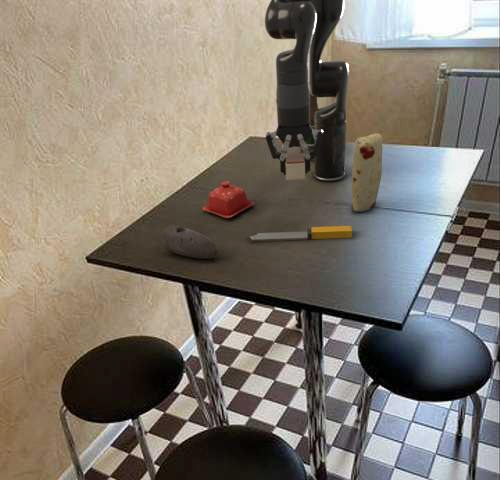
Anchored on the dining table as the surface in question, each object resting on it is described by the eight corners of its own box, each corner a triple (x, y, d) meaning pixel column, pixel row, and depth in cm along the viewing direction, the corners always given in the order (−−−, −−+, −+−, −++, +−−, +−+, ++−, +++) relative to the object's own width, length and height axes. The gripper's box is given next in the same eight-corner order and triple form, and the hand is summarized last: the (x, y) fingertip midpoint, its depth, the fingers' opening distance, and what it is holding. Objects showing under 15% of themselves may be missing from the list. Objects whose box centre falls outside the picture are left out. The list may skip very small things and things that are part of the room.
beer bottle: (299, 159, 168) (297, 85, 154) (301, 150, 174) (300, 79, 160) (322, 158, 166) (322, 84, 152) (323, 150, 173) (324, 77, 158)
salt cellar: (286, 180, 120) (285, 162, 117) (286, 170, 124) (285, 153, 121) (305, 179, 119) (304, 161, 116) (304, 169, 124) (304, 152, 121)
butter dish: (200, 212, 141) (196, 184, 136) (228, 197, 148) (225, 170, 143) (228, 222, 134) (225, 194, 129) (256, 207, 141) (254, 179, 136)
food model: (365, 217, 131) (369, 143, 119) (344, 211, 134) (346, 138, 123) (384, 203, 136) (390, 131, 124) (363, 198, 140) (367, 127, 128)
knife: (249, 242, 125) (248, 235, 124) (250, 235, 128) (249, 228, 127) (352, 238, 122) (352, 231, 121) (350, 232, 125) (351, 225, 124)
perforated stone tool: (224, 256, 120) (221, 231, 116) (212, 267, 117) (208, 242, 113) (176, 244, 127) (171, 220, 123) (163, 254, 124) (158, 230, 119)
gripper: (324, 95, 113) (323, 165, 124) (262, 99, 115) (267, 168, 125) (326, 105, 107) (325, 178, 118) (261, 109, 109) (266, 181, 119)
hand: (295, 172), depth 121 cm, fingers closed on salt cellar, 4 cm apart
